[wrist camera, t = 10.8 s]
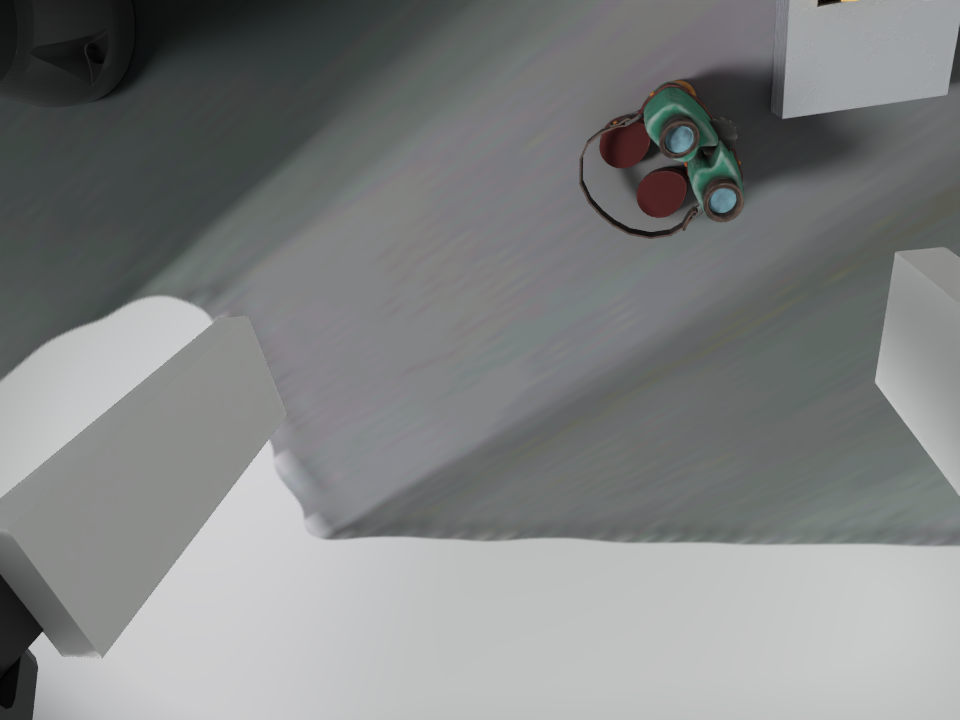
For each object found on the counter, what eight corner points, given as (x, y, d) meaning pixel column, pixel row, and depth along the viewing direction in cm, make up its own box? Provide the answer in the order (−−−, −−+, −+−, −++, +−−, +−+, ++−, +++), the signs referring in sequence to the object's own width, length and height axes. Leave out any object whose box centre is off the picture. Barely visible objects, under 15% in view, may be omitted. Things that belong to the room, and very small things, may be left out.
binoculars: (545, 194, 36) (697, 75, 31) (567, 148, 45) (689, 49, 39) (633, 303, 39) (787, 211, 33) (638, 240, 47) (761, 158, 42)
